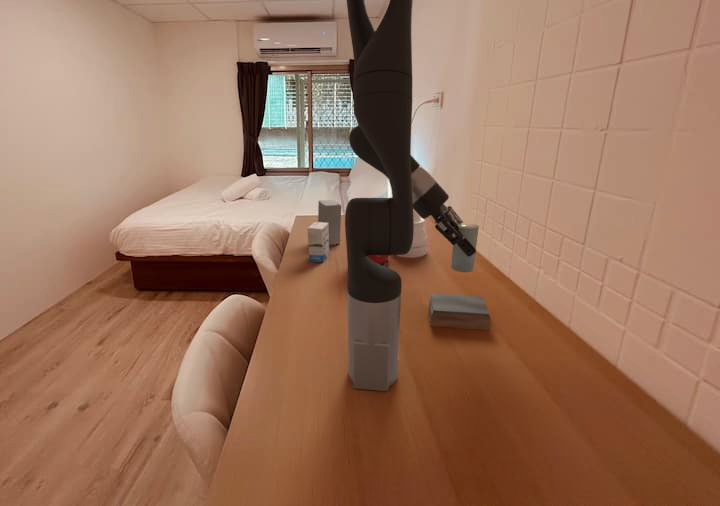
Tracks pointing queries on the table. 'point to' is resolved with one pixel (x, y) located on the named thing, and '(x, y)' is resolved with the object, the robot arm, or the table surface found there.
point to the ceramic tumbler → (458, 256)
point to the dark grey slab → (458, 312)
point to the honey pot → (417, 238)
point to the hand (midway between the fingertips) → (473, 249)
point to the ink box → (318, 242)
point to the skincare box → (331, 219)
